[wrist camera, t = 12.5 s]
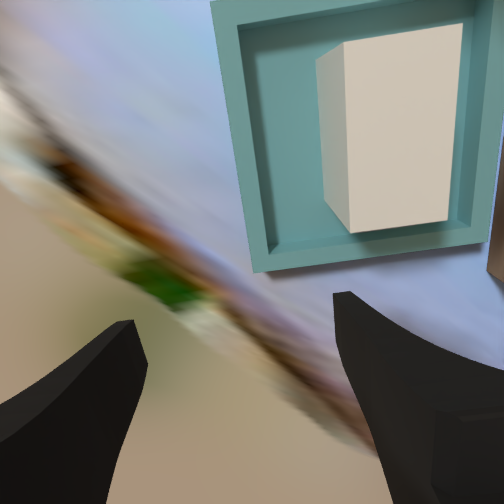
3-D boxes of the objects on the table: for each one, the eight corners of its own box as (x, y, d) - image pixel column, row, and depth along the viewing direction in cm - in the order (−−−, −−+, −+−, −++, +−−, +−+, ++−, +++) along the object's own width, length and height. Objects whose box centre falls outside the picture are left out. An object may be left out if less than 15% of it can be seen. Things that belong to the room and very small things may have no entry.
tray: (466, 229, 21) (487, 241, 19) (252, 258, 22) (253, 273, 20) (492, -36, 16) (524, -53, 14) (214, 12, 17) (209, 1, 15)
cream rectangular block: (395, 202, 20) (446, 235, 15) (325, 211, 20) (350, 248, 15) (398, 46, 17) (463, 23, 12) (315, 59, 17) (343, 42, 12)
